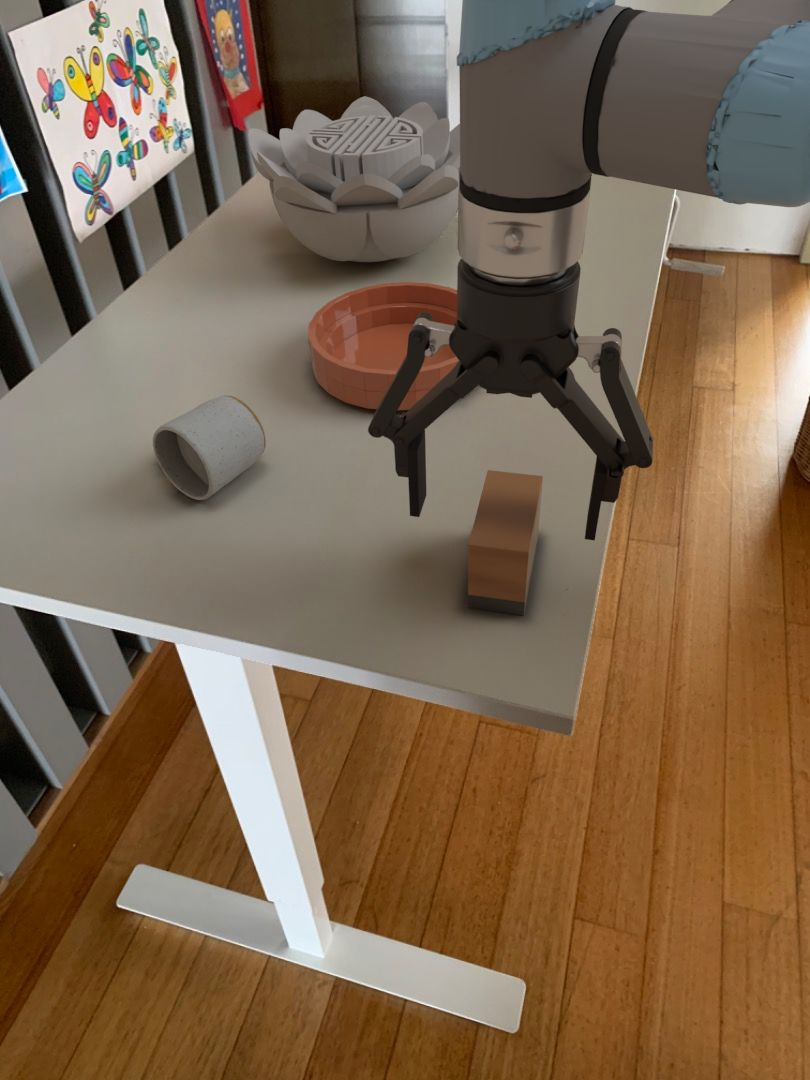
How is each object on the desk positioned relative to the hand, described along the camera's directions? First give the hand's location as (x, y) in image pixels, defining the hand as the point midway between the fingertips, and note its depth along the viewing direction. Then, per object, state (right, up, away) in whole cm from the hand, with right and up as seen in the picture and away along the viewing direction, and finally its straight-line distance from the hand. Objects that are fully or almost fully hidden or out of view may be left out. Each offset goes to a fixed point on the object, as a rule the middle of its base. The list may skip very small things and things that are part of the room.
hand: (502, 516), depth 66 cm
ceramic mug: (-27, +5, +16) cm, 31 cm away
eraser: (+1, -4, +4) cm, 6 cm away
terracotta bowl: (-8, +18, +28) cm, 34 cm away
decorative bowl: (-13, +39, +51) cm, 65 cm away
